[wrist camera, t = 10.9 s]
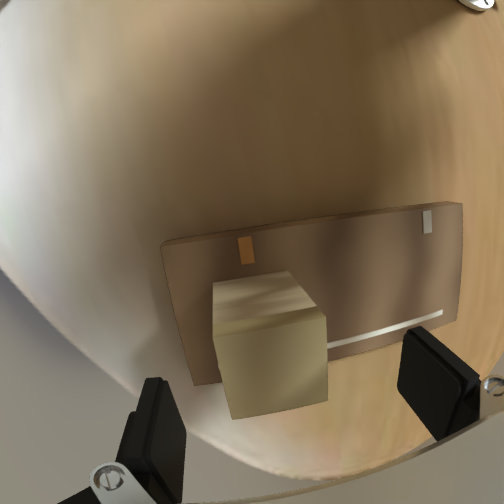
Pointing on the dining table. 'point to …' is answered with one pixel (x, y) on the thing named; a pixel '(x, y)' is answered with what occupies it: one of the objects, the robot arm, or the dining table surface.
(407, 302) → the walnut board
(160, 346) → the dining table surface
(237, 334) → the block
